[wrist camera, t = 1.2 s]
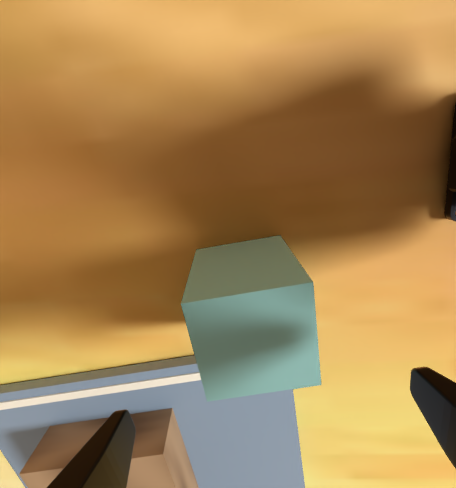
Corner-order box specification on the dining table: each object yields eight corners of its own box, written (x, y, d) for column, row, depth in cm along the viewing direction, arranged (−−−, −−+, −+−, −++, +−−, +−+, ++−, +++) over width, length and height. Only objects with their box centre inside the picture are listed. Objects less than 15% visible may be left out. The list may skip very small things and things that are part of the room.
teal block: (280, 234, 15) (313, 282, 10) (288, 307, 17) (321, 384, 11) (196, 249, 16) (180, 303, 10) (212, 319, 17) (207, 401, 12)
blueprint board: (285, 341, 18) (288, 350, 17) (304, 490, 23) (307, 503, 22) (-24, 388, 19) (-35, 400, 18) (61, 521, 24) (55, 535, 23)
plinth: (172, 407, 18) (162, 454, 16) (199, 488, 21) (195, 540, 19) (49, 425, 19) (19, 474, 16) (92, 502, 22) (72, 555, 19)
